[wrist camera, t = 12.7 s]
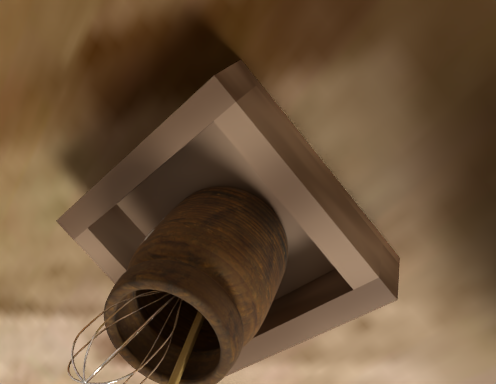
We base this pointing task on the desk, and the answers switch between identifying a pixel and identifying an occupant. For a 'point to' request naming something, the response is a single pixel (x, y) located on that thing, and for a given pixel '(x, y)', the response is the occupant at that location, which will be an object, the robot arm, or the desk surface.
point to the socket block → (258, 184)
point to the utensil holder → (196, 289)
